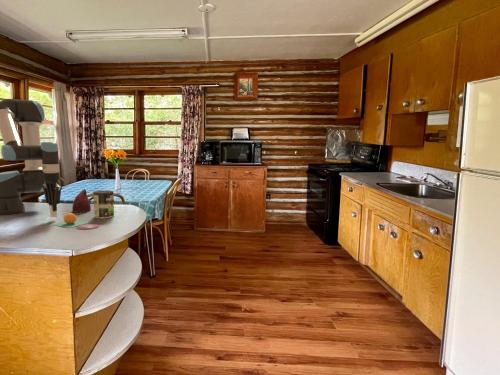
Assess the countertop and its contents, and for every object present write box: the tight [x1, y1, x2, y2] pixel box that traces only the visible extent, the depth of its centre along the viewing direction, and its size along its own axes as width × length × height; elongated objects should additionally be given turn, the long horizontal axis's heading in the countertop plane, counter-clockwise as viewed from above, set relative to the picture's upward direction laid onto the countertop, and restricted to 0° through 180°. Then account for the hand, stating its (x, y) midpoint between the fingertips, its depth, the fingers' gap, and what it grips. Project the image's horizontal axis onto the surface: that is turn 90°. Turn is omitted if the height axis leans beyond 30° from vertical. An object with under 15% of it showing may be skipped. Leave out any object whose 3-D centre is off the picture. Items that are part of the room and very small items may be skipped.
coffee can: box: [92, 190, 115, 220], centre depth 186 cm, size 10×10×14 cm
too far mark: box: [76, 223, 100, 231], centre depth 164 cm, size 10×10×1 cm
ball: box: [63, 212, 77, 224], centre depth 169 cm, size 6×6×6 cm
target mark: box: [52, 219, 90, 229], centre depth 169 cm, size 12×12×1 cm
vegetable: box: [71, 188, 92, 213], centre depth 200 cm, size 10×10×15 cm
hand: (53, 217), depth 175 cm, fingers closed
